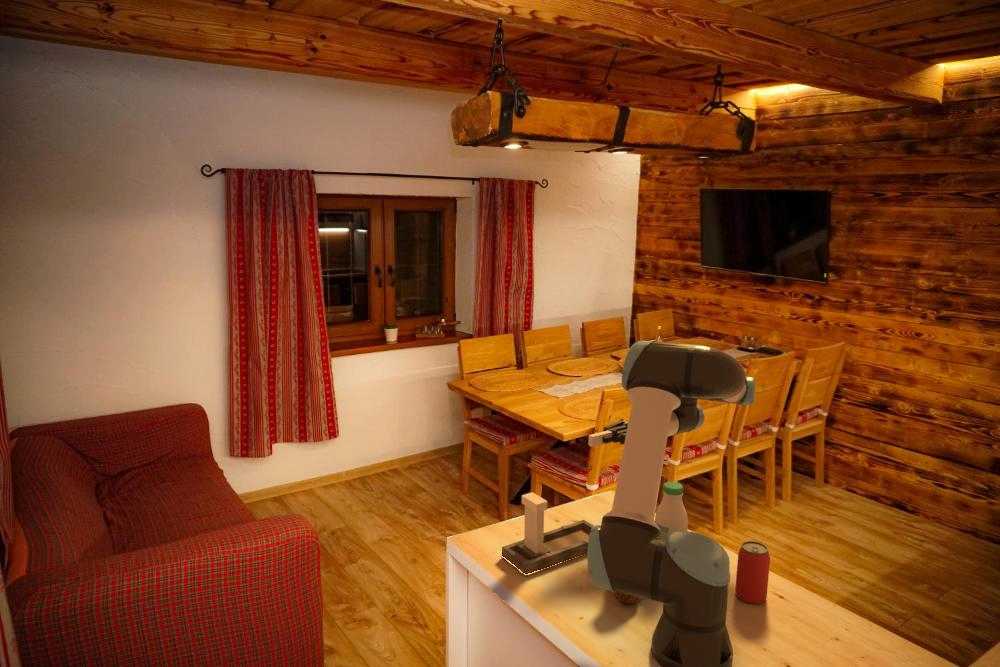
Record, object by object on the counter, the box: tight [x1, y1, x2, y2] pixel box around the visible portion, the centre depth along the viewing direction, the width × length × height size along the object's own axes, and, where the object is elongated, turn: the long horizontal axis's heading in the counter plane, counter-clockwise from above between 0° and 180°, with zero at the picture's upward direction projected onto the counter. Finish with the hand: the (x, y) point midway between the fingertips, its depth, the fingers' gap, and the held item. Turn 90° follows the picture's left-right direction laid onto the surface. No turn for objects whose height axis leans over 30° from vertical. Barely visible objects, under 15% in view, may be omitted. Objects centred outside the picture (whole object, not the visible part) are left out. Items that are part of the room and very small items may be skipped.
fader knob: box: [517, 492, 550, 560], centre depth 165 cm, size 5×7×14 cm
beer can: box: [734, 540, 771, 605], centre depth 151 cm, size 7×7×12 cm
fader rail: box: [501, 519, 595, 574], centre depth 170 cm, size 26×10×3 cm, turn 124°
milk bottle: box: [654, 481, 689, 539], centre depth 164 cm, size 8×8×20 cm
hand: (590, 441), depth 171 cm, fingers closed
